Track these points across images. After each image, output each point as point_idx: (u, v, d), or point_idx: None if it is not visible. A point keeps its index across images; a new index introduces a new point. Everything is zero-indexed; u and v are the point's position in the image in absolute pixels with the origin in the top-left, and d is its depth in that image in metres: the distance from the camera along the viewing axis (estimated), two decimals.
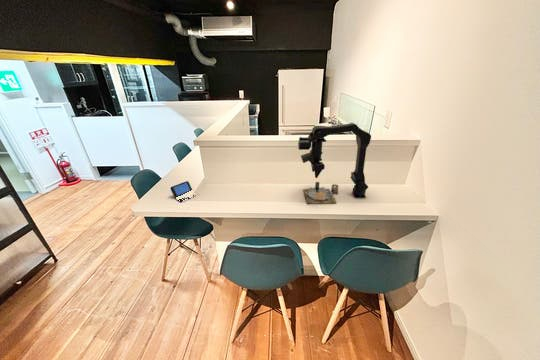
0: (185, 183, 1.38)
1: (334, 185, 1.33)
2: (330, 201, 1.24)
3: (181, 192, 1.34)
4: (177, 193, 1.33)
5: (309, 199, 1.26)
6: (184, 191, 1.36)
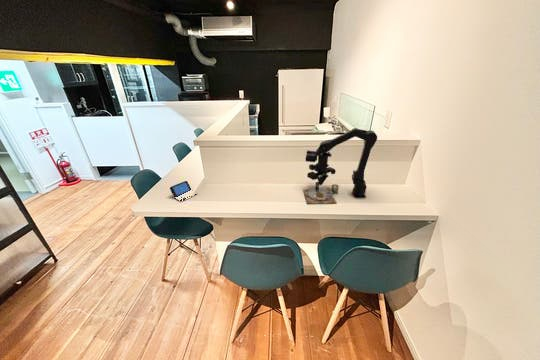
0: (184, 183, 1.38)
1: (334, 185, 1.33)
2: (330, 201, 1.24)
3: (180, 192, 1.35)
4: (176, 193, 1.33)
5: (309, 199, 1.26)
6: (183, 191, 1.36)
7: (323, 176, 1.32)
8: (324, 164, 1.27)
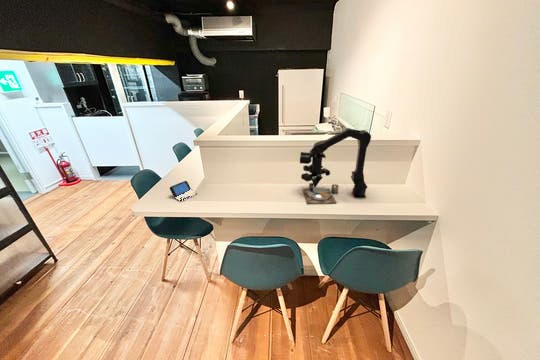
0: (184, 183, 1.38)
1: (334, 185, 1.33)
2: (330, 201, 1.24)
3: (180, 192, 1.35)
4: (176, 193, 1.33)
5: (309, 199, 1.26)
6: (183, 191, 1.36)
7: (317, 177, 1.30)
8: (318, 165, 1.25)
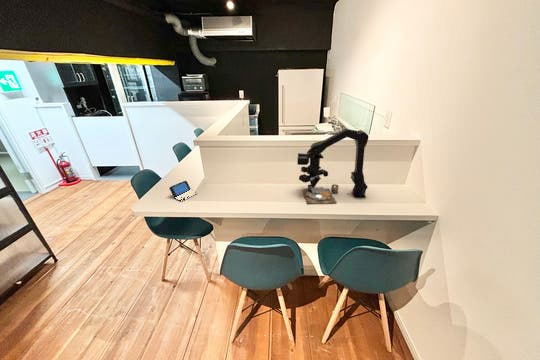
0: (183, 183, 1.38)
1: (334, 185, 1.33)
2: (330, 201, 1.24)
3: (180, 192, 1.35)
4: (176, 193, 1.33)
5: (309, 199, 1.26)
6: (183, 191, 1.36)
7: (315, 178, 1.29)
8: (316, 166, 1.24)
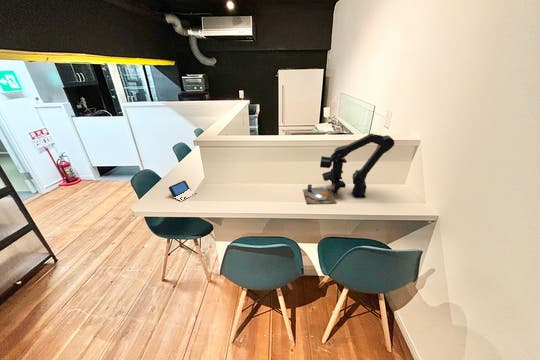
0: (182, 182, 1.38)
1: None
2: (330, 201, 1.24)
3: (179, 191, 1.35)
4: (176, 193, 1.33)
5: (309, 199, 1.26)
6: (182, 190, 1.37)
7: None
8: None
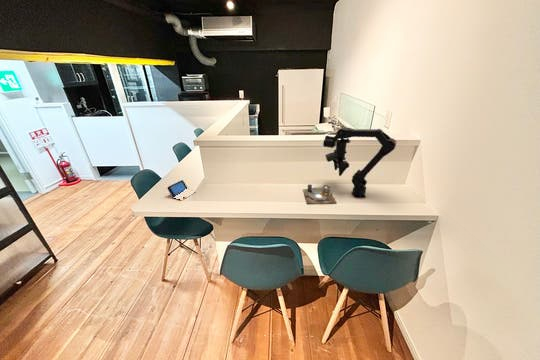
0: (180, 182, 1.39)
1: (325, 186, 1.26)
2: (330, 201, 1.24)
3: (178, 191, 1.36)
4: (174, 192, 1.33)
5: (309, 199, 1.26)
6: (181, 190, 1.37)
7: None
8: (345, 149, 1.26)
